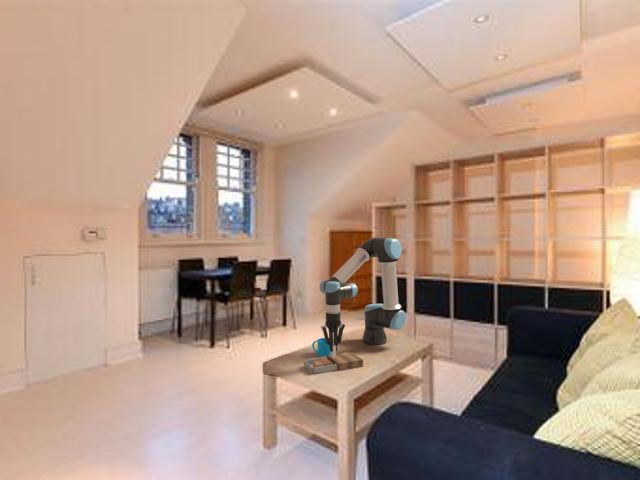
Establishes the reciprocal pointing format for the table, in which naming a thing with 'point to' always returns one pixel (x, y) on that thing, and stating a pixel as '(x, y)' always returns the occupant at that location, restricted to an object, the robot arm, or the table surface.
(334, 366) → the tray
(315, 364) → the tile
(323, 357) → the tile
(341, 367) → the brown square slab
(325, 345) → the mug
